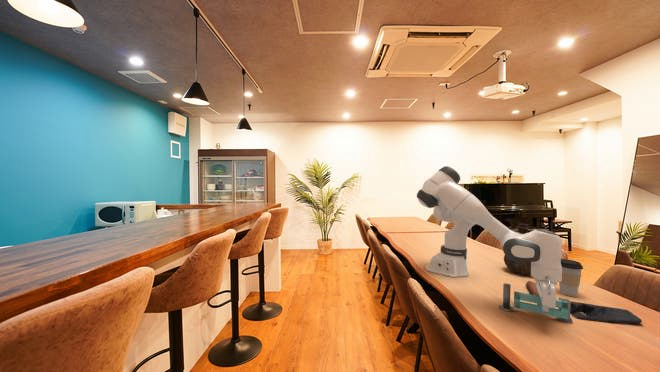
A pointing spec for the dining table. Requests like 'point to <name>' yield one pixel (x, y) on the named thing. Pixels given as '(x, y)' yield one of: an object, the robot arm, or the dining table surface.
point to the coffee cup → (570, 277)
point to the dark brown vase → (519, 267)
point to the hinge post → (506, 299)
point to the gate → (540, 305)
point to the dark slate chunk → (602, 313)
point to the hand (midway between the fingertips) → (544, 310)
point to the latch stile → (568, 312)
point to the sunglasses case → (532, 288)
